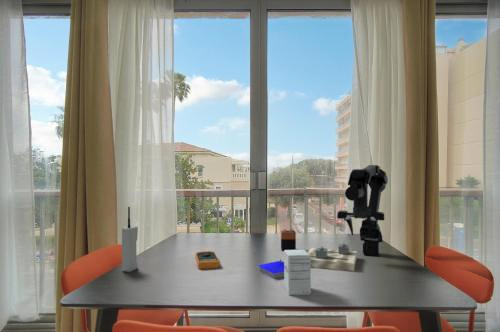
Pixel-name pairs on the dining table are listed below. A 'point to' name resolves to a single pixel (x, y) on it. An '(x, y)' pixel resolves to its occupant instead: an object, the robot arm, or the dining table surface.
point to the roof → (273, 269)
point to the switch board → (334, 260)
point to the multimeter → (206, 260)
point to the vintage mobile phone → (129, 246)
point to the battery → (288, 240)
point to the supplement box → (297, 272)
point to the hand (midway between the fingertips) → (360, 235)
